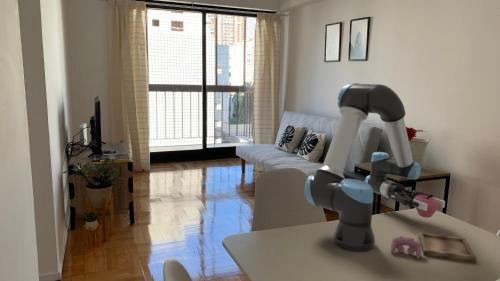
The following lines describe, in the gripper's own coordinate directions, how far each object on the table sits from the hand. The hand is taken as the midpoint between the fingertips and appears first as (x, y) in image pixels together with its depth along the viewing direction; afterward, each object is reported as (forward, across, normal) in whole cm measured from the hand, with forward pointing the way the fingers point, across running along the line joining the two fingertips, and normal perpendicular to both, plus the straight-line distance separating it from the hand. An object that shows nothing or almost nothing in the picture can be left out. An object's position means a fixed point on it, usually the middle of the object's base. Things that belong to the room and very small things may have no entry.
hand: (435, 206), depth 152 cm
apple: (-4, 0, -6) cm, 8 cm away
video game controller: (+10, +26, -12) cm, 30 cm away
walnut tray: (+13, +9, -11) cm, 19 cm away
